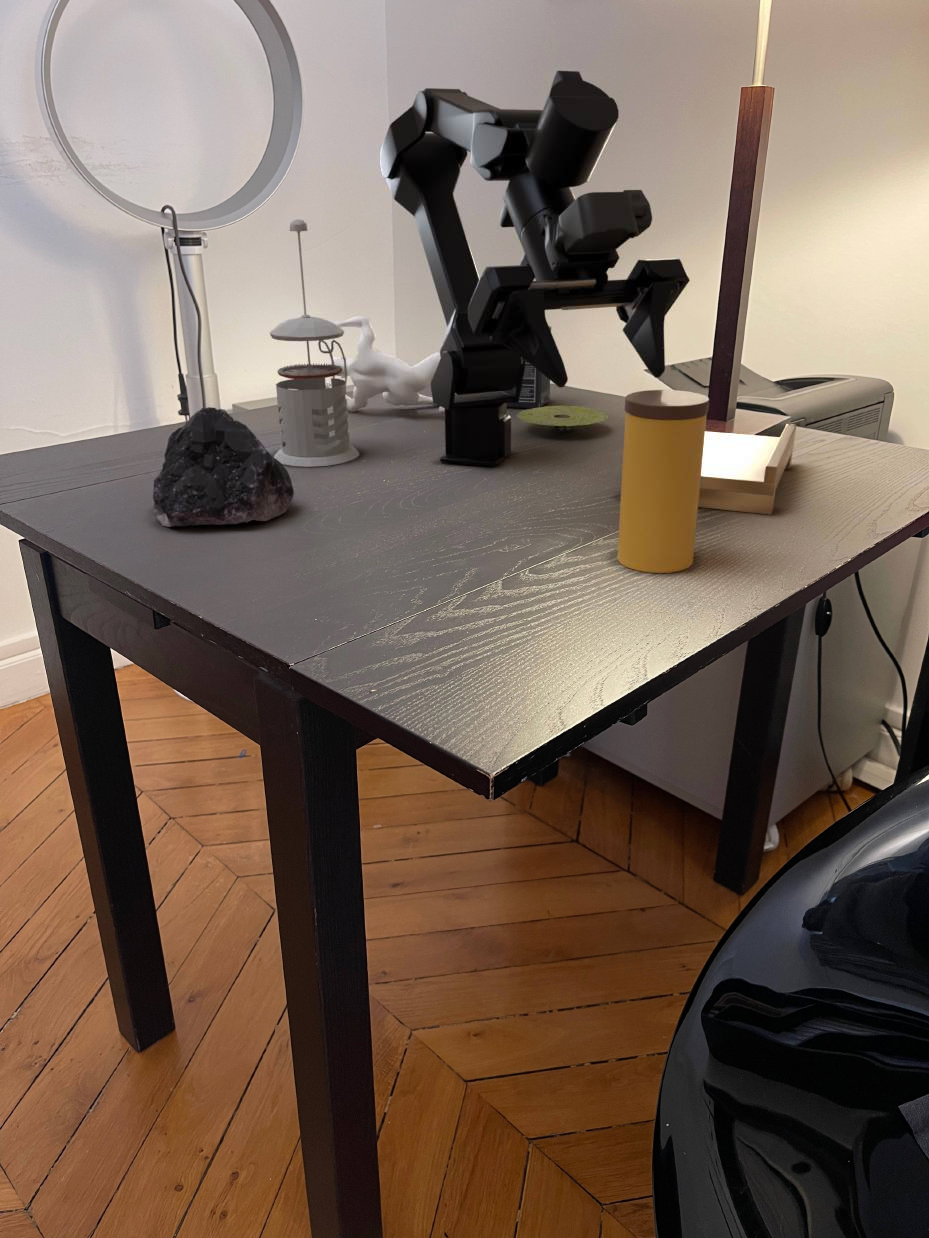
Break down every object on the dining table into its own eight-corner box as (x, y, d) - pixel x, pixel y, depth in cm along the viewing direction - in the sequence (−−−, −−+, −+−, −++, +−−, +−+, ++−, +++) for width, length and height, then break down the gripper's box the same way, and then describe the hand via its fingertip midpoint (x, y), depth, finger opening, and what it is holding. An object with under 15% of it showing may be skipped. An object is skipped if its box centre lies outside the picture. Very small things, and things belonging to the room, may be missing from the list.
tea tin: (609, 568, 73) (618, 403, 68) (623, 543, 79) (632, 388, 73) (689, 577, 72) (704, 408, 66) (698, 550, 77) (713, 392, 71)
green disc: (621, 426, 118) (622, 410, 117) (582, 445, 110) (583, 428, 109) (543, 416, 124) (543, 402, 123) (500, 434, 115) (500, 418, 114)
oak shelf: (621, 498, 90) (623, 453, 88) (661, 454, 105) (664, 414, 103) (771, 515, 85) (777, 467, 83) (790, 465, 100) (796, 424, 98)
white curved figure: (459, 323, 128) (330, 305, 122) (484, 358, 119) (345, 340, 113) (439, 411, 135) (317, 398, 129) (462, 450, 126) (330, 438, 120)
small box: (551, 400, 133) (553, 324, 129) (540, 410, 128) (541, 330, 123) (481, 397, 136) (481, 322, 132) (467, 405, 131) (466, 328, 126)
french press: (256, 462, 104) (230, 220, 94) (309, 439, 114) (291, 217, 104) (333, 470, 101) (314, 220, 91) (381, 445, 111) (369, 217, 100)
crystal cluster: (243, 549, 81) (244, 434, 77) (114, 520, 85) (109, 410, 81) (317, 514, 93) (320, 414, 89) (200, 491, 96) (199, 394, 93)
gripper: (480, 153, 70) (547, 321, 65) (685, 153, 77) (759, 306, 72) (443, 259, 80) (498, 412, 75) (628, 252, 87) (689, 391, 82)
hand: (613, 379), depth 76 cm, fingers open, 9 cm apart
